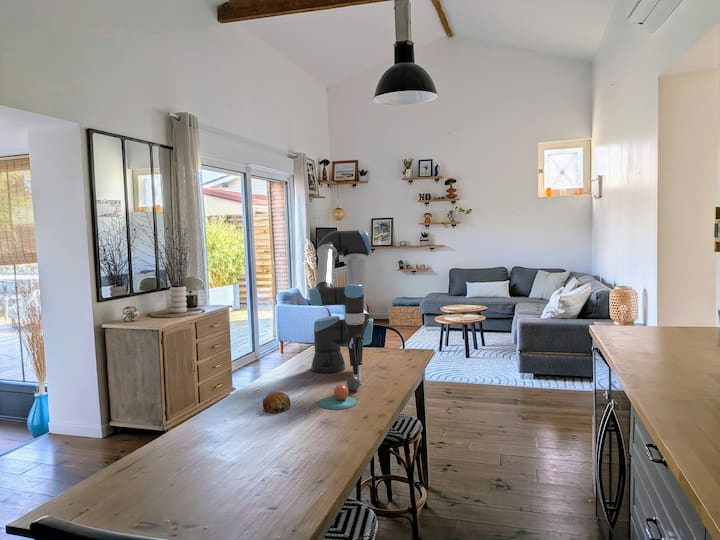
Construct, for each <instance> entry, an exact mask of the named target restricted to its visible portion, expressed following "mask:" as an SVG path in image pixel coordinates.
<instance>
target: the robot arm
mask: <svg viewBox="0 0 720 540" xmlns="http://www.w3.org/2000/svg"><path fill="white" fill-rule="evenodd" d="M369 236H370V235H369V233H368V231H367V230H361V229H360V230H359V229H357V230H335V231H334V230H333V231H330V232H329V233H327V234H325V236H324V237H322V238H321V239H320V241H319V243H318V244H317V247H316V256H317V269H316V270H317V271H316V278H315V279H316V281H315V282H316V283H315V286H314V287H311V288H310V290H309V300H310V305H312V306H316V307H317V306H319V307H325V306H344V307H345V308H344V309H345V313H344V314H345V315H344V318H343V319H341V318H340V316H339V315H331V316H325V317H321V318H318V319H316V320H315V321H314V323H313V336H314V341H313V342H314V353H313V358H312V361H311V371H312V372H314V373H320V374H332V373H338V372H341V371H343V370H345V369H346V363H345V360H344V356H343V354H342V351H341V346H347V349H348V356H349V362H350V367H352V376H355V377H357V378H358V379H359V380H360V383H361V381H362V380H361V379H362V373H361V365H363V351H364V346H367V345H370V344H371V342H372V338H373V328H374V318H372V317H371V314H370V313H369V312H368V311H367V284H366V283H367V282H366V279H367V278H366V261H367V260H368V259H369V256H370V255H372V248H371V241H370V237H369ZM338 256H343V260H344V261H345V262H346V284H345V285H344V286H334V285H335V269H336V267H335V265H336V258H337V257H338Z"/></svg>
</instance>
